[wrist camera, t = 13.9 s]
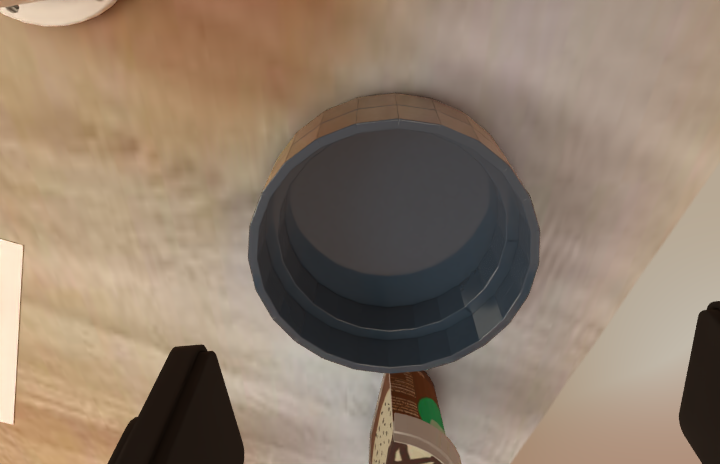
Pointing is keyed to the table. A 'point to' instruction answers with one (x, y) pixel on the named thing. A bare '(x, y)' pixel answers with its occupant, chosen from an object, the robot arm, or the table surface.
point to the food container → (409, 423)
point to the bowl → (393, 236)
